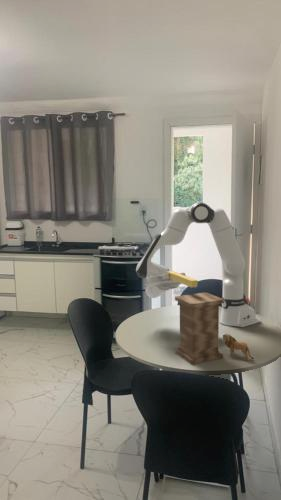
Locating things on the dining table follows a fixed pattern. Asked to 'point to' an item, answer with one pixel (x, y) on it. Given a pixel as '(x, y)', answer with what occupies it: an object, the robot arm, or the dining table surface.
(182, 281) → the mustard rod
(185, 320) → the walnut pedestal
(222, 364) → the dining table surface
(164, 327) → the dining table surface
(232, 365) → the dining table surface
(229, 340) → the lion figurine
